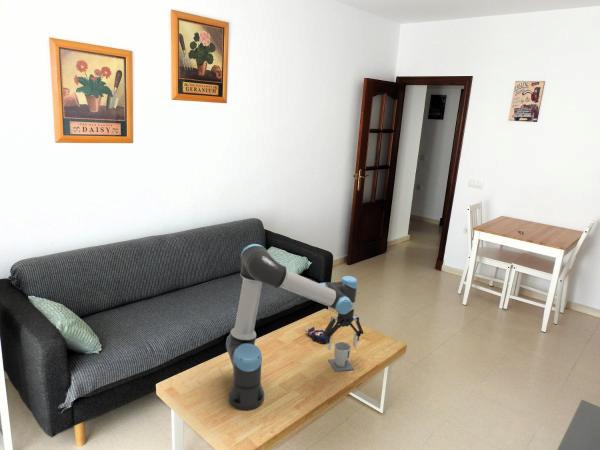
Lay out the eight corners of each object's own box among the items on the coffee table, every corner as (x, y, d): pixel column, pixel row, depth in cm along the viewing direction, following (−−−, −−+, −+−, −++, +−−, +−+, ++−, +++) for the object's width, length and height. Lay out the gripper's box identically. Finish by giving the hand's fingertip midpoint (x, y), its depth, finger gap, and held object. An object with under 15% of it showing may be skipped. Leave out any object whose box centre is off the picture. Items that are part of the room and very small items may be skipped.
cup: (348, 369, 213) (350, 351, 211) (331, 367, 215) (333, 349, 212) (349, 360, 221) (351, 343, 218) (333, 358, 222) (335, 340, 220)
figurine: (312, 323, 250) (333, 333, 241) (311, 330, 251) (332, 340, 242) (302, 329, 243) (323, 339, 234) (301, 336, 244) (323, 346, 235)
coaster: (335, 372, 212) (335, 370, 212) (328, 360, 221) (328, 359, 221) (354, 370, 215) (354, 368, 215) (346, 358, 224) (346, 357, 224)
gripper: (324, 312, 203) (320, 353, 208) (373, 310, 210) (368, 349, 215) (319, 305, 210) (315, 345, 215) (366, 303, 217) (362, 341, 222)
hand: (341, 347), depth 215 cm, fingers open, 13 cm apart
